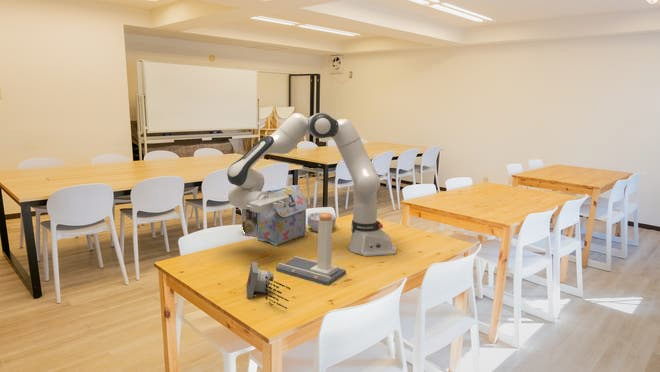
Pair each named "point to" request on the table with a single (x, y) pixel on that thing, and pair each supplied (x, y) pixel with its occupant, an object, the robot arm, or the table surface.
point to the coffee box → (250, 222)
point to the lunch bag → (284, 218)
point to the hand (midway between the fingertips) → (285, 205)
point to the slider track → (308, 271)
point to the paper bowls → (314, 219)
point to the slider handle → (324, 246)
